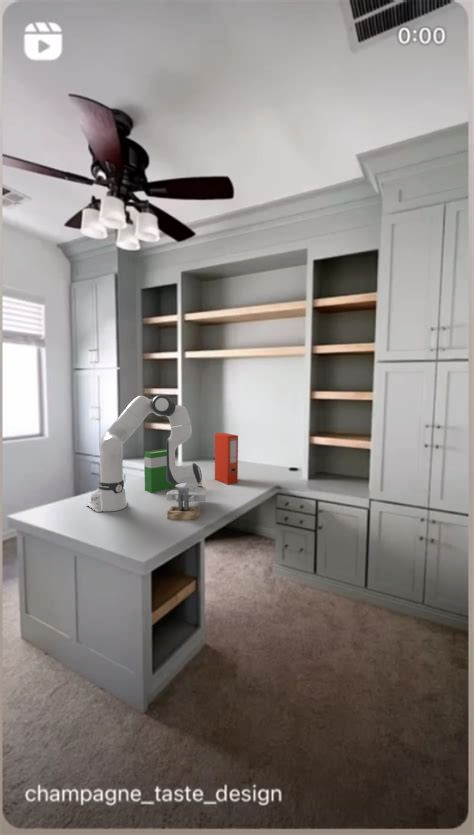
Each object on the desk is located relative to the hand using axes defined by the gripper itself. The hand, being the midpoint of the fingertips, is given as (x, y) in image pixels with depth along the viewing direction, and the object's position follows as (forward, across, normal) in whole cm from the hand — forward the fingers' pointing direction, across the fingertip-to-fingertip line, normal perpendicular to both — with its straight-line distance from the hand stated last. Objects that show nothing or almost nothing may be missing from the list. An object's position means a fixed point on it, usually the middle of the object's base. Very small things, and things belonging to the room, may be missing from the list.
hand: (183, 500), depth 180 cm
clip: (-1, 0, +6) cm, 7 cm away
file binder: (-73, +12, +8) cm, 74 cm away
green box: (-49, -27, +9) cm, 56 cm away
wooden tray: (-1, 0, +8) cm, 8 cm away
